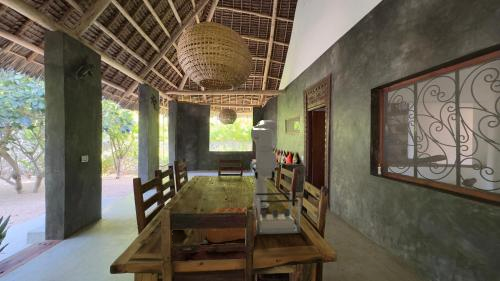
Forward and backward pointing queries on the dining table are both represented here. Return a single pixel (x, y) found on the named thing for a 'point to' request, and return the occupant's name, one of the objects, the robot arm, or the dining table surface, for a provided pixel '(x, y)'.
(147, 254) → the dining table surface
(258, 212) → the frame
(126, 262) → the dining table surface
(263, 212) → the grey rectangular block
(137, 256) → the dining table surface
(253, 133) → the robot arm
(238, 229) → the bread
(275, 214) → the dark grey rectangular box
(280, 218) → the switch box
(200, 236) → the lantern
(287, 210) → the grey matte cuboid
